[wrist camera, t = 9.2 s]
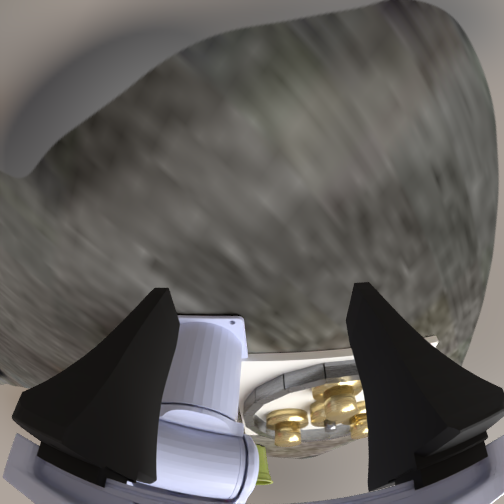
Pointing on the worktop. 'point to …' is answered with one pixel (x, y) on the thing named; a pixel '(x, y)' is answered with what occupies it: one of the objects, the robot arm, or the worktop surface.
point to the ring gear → (294, 383)
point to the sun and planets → (312, 423)
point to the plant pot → (263, 468)
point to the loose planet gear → (338, 399)
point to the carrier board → (274, 364)
